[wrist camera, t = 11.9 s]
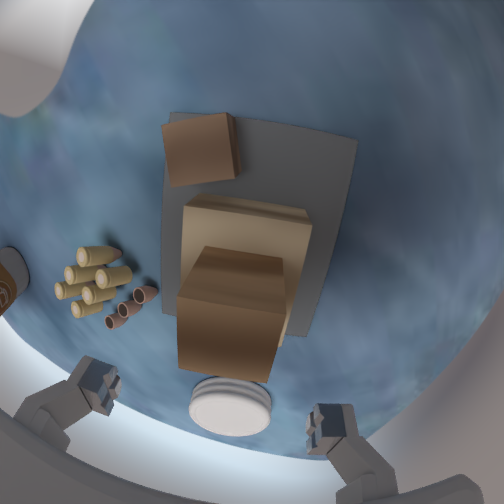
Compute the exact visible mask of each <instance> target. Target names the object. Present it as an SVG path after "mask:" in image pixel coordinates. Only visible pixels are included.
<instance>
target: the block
mask: <svg viewBox="0 0 504 504" xmlns="http://www.w3.org/2000/svg"><path fill="white" fill-rule="evenodd" d="M161 127H162V134H163V141H164V148H165V154H166V161H167V167H168V173H169V179H170V184H171V188H173V187H179V186H185V185H191V184H198V183H205V182H212V181H220V180H228V179H235V178H236V177H237V176H238V174H239V173H240V172H241V171H242V169H241V161H240V153H239V146H238V138H237V130H236V122H235V117H233V116H231V115H230V114H228V113H226V112H225V113H219V114H213V115H207V116H201V117H196V118H191V119H186V120H182V121H177V122H173V123H168V124H164V125H161Z"/></svg>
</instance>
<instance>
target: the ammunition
mask: <svg viewBox="0 0 504 504" xmlns="http://www.w3.org/2000/svg"><path fill="white" fill-rule="evenodd" d="M121 256H122V252H121V251H120V250H118V249H116V248H113V247H111V246H91V247H80V248H79V249H78V251H77V255H76V257H77V262H78V264H79V265H73V266H67V267H66V268H65V272H64V275H65V280H66V281H64V282H57V283H56V284H55V294H56V296H57V298H58V299H60V300H61V299H65V298H69V297H74V296H78V295H82V297H83V299H82V300H78V301H73V302H72V304H71V310H72V313H73V315H74V316H75V317H76V318H80V317H83V316H87V315H90V314H93V313H97V312H100V311H102V309H103V302H102V301H105V300H109V299H113V298H115V296H116V293H117V292H116V287H115V286H118V285H123V284H127V283H130V282H131V280H132V271H131V269H130V268H129V267H128V266H120V267H112V268H107V267H106V266H104V265H102V264H109V263H112V262H113V261H115V260H117V259H118V258H120V257H121ZM92 280H96V283H97V284H96V285H95V283H94V282H93V281H92ZM157 294H158V290H157V289H156V288H154V287H150V286H141V287H137V288H135V289H134V291H133V297H134V300H129V301H125V302H121V303H119V304H118V312H119V313H114V314H111V315H108V316H106V317H105V324H106V326H107V328H108V329H110V330H112V329H115V328H117V327H120V326H121V325H123V324H124V323H125V322H126V321H127V317H129V316H132V315H134V314H136V313H137V312H138V311H139V310H140V309H141V307H142V305H141V304H142V303H145V302H149V301H151V300H152V299H153V298H154V297H155V296H156V295H157Z"/></svg>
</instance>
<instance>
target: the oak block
mask: <svg viewBox="0 0 504 504" xmlns="http://www.w3.org/2000/svg"><path fill="white" fill-rule="evenodd" d="M286 315H287V313H286V299H285V285H284V272H283V260H282V258H279V257H273V256H266V255H260V254H254V253H248V252H241V251H235V250H229V249H223V248H216V247H210V246H205V247H204V248H203V250H202V252H201V253H200V255H199V257H198V259H197V260H196V262H195V264H194V266H193V268H192V269H191V271H190V273H189V275H188V276H187V278H186V280H185V282H184V284H183V285H182V287H181V289H180V291H179V293H178V294H177V345H178V366H179V368H180V369H185V370H189V371H194V372H199V373H204V374H209V375H214V376H220V377H226V378H232V379H238V380H245V381H252V382H260V383H267V381H268V378H269V374H270V371H271V368H272V364H273V361H274V358H275V354H276V351H277V347H278V344H279V340H280V337H281V333H282V330H283V326H284V322H285V319H286Z"/></svg>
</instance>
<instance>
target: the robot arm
mask: <svg viewBox="0 0 504 504" xmlns="http://www.w3.org/2000/svg"><path fill="white" fill-rule="evenodd" d="M117 373H118V370H117V367H116V366H113V365H110V364H107V363H105V362H102V361H99V360H97V359H94V358H92V357H89V356H87V355H85V356H84V357H82V359H81V360H80V362H79V363H78V365H77V366H76V368H75V369H74V371H73V372H72V374H71V375H70V377H69V378H68V380H67V381H66V380H63V381H61V382H59V383H56V384H54V385H52V386H50V387H48V388H46V389H44V390H42V391H39V392H37V393H35V394H33V395H30V396H28V397H26V398H25V400H24V401H23V403H22V404H21V406H20V408H19V409H18V411H17V412H16V414H15V416H14V417H13V418H12V417H11V416H10V415H8V414H7V413H6V412H4V411H3V410H2V409H1V408H0V504H217V503H211V502H205V501H200V500H195V499H190V498H186V497H181V496H177V495H173V494H169V493H165V492H162V491H158V490H155V489H151V488H148V487H145V486H142V485H139V484H136V483H133V482H130V481H127V480H125V479H122V478H119V477H117V476H115V475H112V474H110V473H107V472H105V471H103V470H100V469H98V468H96V467H94V466H91V465H89V464H87V463H85V462H83V461H81V460H79V459H77V458H75V457H73V456H72V455H70V454H68V453H66V450H67V447H68V445H69V443H70V438H69V437H68V436H67V435H66V433H65V432H64V431H63V430H65V429H66V428H68V427H69V426H71V425H72V424H74V423H75V422H77V421H78V420H80V419H81V418H83V417H84V416H86V415H87V414H89V413H90V412H91V411H92V410H93V411H96V412H98V413H101V414H103V415H106V416H109V415H110V413H111V410H112V408H113V406H114V403H113V400H114V399H116V398H117V397H118V396H119V394H120V391H121V379H120V377H119V376H118V375H117ZM306 433H307V434H308V436H309V439H308V440H307V441H306V443H307V455H326V456H327V458H328V459H329V461H330V462H331V463H332V465H333V466H334V468H335V469H336V470H337V472H338V473H339V475H340V476H341V477H342V479H343V480H344V482H345V483H346V484H347V486H345V487H343V488H342V489H340V490H338V491H337V492H336V504H484V499H483V494H482V491H481V489H480V487H479V486H478V485H477V484H476V483H475V482H473V481H472V480H471V479H470V478H468V477H467V476H465V475H463V474H458V475H455V476H452V477H450V478H447V479H445V480H442V481H440V482H437V483H434V484H431V485H428V486H425V487H422V488H419V489H416V490H413V491H409V492H406V493H402V494H399V493H398V488H397V481H396V476H395V471H394V469H393V468H392V467H391V466H390V465H389V463H388V462H387V461H386V460H385V459H384V458H383V457H382V456H381V455H380V454H379V453H378V452H377V451H376V450H375V449H374V448H373V447H372V446H371V445H370V444H369V443H368V442H367V441H366V440H365V439H364V438H363V437H362V436H359V433H358V428H357V423H356V418H355V413H354V408H353V405H352V404H323V403H317V404H315V406H314V407H313V412H311V413H310V414H309V416H308V417H307V421H306Z"/></svg>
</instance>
